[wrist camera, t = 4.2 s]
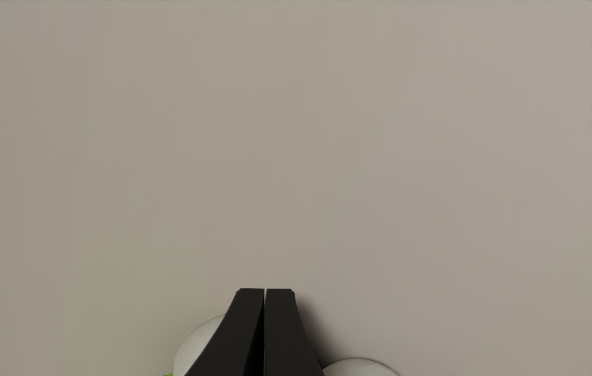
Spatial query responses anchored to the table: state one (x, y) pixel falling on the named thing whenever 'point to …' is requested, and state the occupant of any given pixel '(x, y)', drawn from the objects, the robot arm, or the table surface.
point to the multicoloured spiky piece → (345, 372)
